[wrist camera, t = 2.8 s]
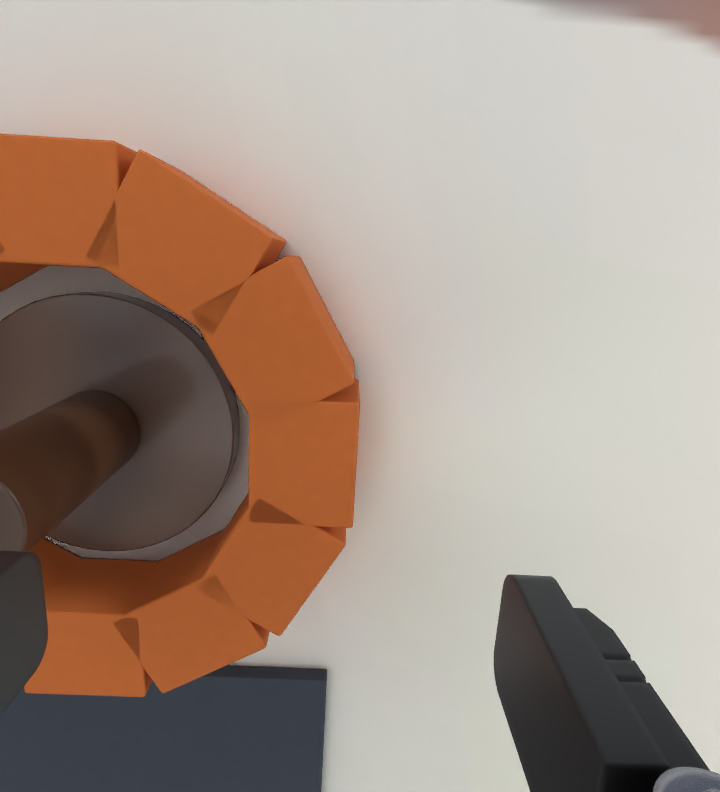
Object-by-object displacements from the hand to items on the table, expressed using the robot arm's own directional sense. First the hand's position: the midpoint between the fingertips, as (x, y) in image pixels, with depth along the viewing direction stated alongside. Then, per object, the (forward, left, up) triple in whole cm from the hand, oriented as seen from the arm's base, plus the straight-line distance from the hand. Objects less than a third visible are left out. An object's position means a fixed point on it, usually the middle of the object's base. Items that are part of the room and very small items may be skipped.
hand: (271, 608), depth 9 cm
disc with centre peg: (-7, 0, -10) cm, 12 cm away
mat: (-7, -16, -10) cm, 20 cm away
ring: (-7, 0, -10) cm, 12 cm away
